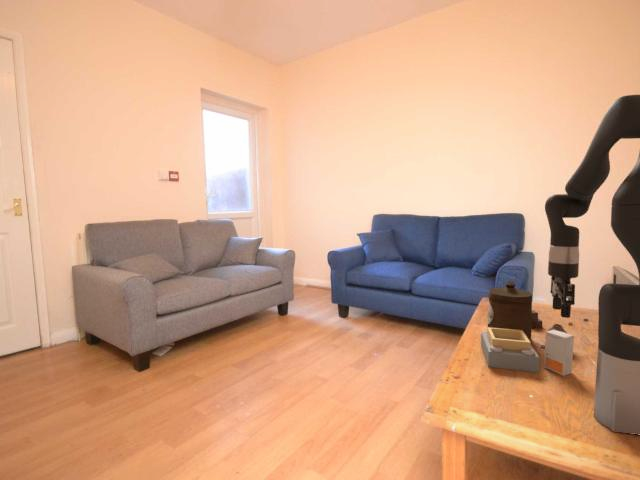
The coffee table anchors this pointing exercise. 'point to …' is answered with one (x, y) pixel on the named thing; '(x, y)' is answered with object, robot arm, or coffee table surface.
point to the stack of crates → (536, 320)
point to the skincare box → (559, 352)
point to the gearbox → (509, 350)
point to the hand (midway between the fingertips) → (560, 313)
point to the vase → (557, 328)
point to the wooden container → (510, 309)
